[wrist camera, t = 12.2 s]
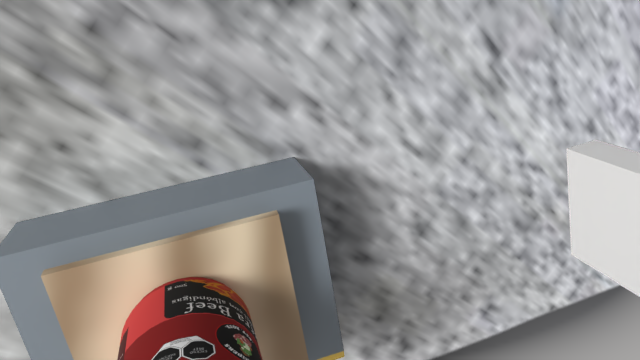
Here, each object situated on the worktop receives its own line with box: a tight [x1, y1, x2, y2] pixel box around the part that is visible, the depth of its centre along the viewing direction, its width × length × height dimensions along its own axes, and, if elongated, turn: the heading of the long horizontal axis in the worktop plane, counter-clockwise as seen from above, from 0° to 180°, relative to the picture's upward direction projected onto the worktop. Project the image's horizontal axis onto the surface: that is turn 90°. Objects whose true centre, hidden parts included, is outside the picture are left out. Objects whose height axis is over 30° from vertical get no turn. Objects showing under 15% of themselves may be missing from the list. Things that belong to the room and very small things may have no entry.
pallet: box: [41, 210, 309, 360], centre depth 33 cm, size 14×12×2 cm
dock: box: [0, 157, 344, 360], centre depth 37 cm, size 20×15×6 cm
